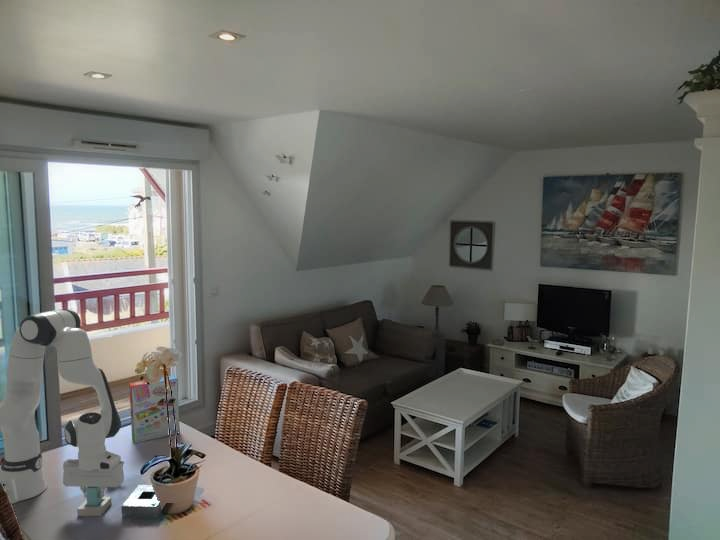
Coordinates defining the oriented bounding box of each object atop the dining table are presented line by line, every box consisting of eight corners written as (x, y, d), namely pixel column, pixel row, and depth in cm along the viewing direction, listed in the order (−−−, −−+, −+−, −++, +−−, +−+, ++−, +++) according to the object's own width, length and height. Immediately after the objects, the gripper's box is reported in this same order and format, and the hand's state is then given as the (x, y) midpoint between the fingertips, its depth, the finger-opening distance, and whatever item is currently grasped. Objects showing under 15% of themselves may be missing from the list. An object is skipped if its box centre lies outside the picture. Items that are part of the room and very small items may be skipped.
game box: (177, 429, 254) (175, 375, 251) (180, 433, 250) (178, 378, 246) (131, 439, 243) (128, 382, 240) (133, 443, 238) (130, 385, 235)
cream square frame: (77, 515, 183) (77, 508, 182) (89, 502, 191) (89, 496, 190) (100, 516, 183) (100, 509, 182) (111, 503, 191) (111, 496, 190)
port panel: (122, 518, 182) (121, 504, 181) (139, 496, 195) (138, 483, 195) (156, 518, 181) (156, 505, 181) (171, 496, 195) (171, 484, 195)
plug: (87, 512, 185) (86, 485, 184) (92, 506, 188) (91, 480, 187) (97, 512, 185) (96, 485, 184) (102, 506, 188) (100, 480, 187)
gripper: (57, 463, 181) (59, 501, 183) (116, 464, 181) (118, 502, 183) (68, 455, 188) (70, 491, 189) (125, 456, 188) (126, 492, 189)
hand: (94, 497), depth 186 cm, fingers closed on plug, 3 cm apart
